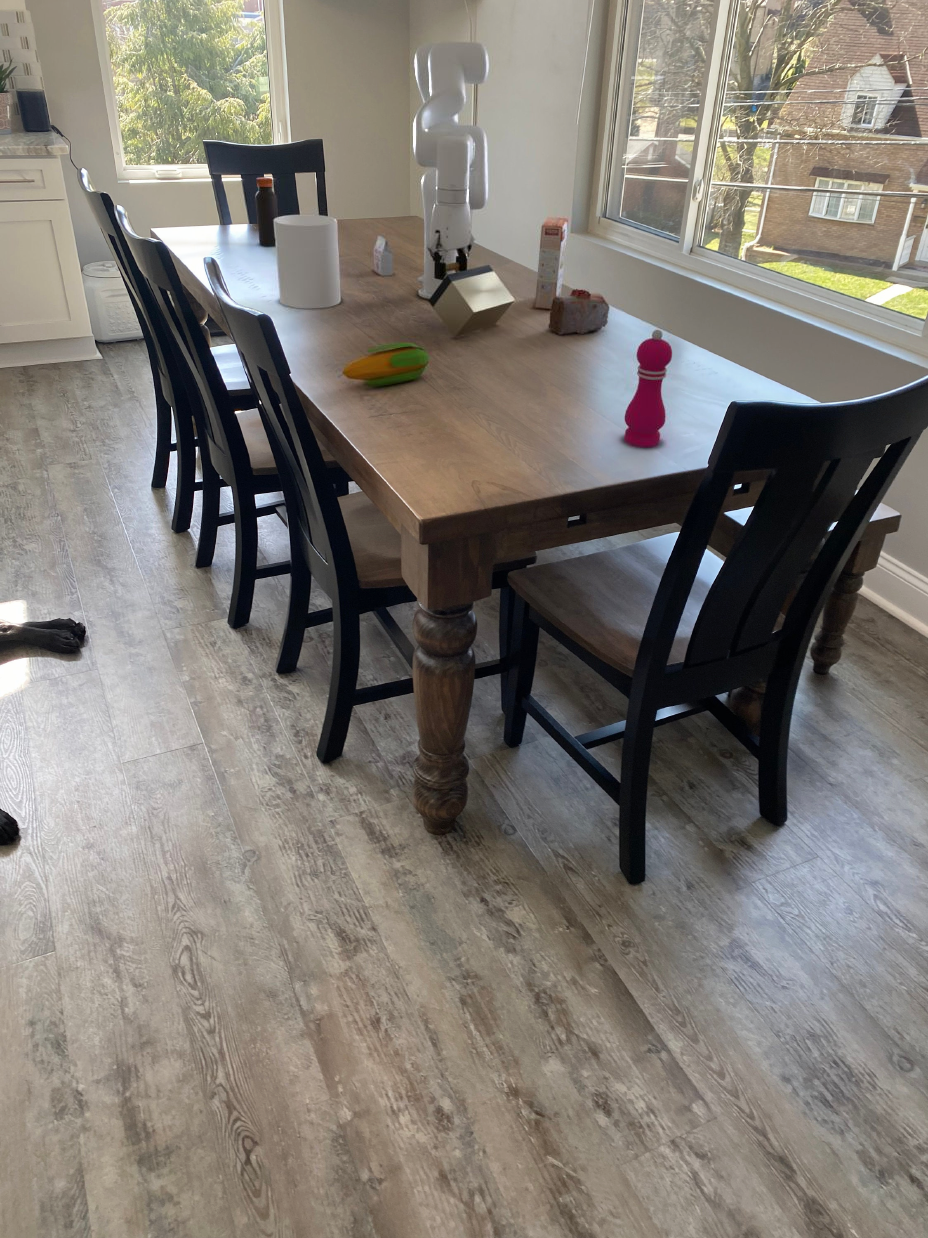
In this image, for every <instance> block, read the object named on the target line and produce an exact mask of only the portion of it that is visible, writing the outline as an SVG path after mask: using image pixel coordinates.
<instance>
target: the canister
mask: <svg viewBox="0 0 928 1238" xmlns="http://www.w3.org/2000/svg"><path fill="white" fill-rule="evenodd" d="M338 231H339V230H338V219H337V218H335V217H332V216H329V215H328V216H327V215H321V214H319V215H318V214H289V215H288V214H287V215H282V216H278V217H277V218H275V219H274V232H275V239H276V243H275V244H276V246H275V256H276V267H277V280H278V293H279V302H280V304H281V305H283V306H286V307H289V308H295V309H306V310H307V309H325V308H331V307H333V306H337V305H338V304H340V303H341V299H342V298H341V281H340V280H341V278H340V258H339V257H340V256H339V241H338V240H339V239H338V238H339V235H338V234H339V232H338Z"/></svg>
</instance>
